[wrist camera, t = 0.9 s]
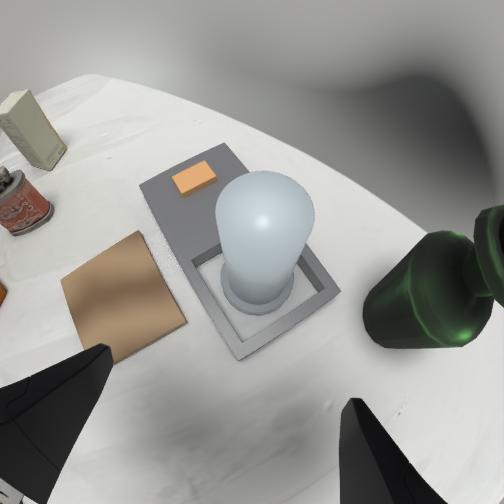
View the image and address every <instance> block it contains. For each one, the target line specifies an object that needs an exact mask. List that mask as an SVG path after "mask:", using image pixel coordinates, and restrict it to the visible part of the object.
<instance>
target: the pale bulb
mask: <svg viewBox="0 0 504 504" xmlns="http://www.w3.org/2000/svg"><path fill="white" fill-rule="evenodd" d="M215 214H216V221H217V227H218V232H219V237H220V242H221V247H222V252H223V257H224V264H223V267H222V271H221V283H222V287H223V291H224V293H225V296H226V298H227V299H228V301H229V302H230V303H231V304H232V305H233V306H234V307H235V308H236V309H238V310H239V311H241V312H243V313H246V314H249V315H264V314H268V313H271V312H273V311H275V310H276V309H278V308H279V307H280V306H281V305H282V304H283V303H284V302H285V300H286V299H287V297H288V295H289V294H290V292H291V289H292V286H293V280H294V278H293V269H294V267H295V265H296V263H297V261H298V259H299V257H300V254H301V252H302V250H303V248H304V246H305V244H306V242H307V240H308V237H309V235H310V233H311V231H312V228H313V225H314V221H315V211H314V206H313V203H312V200H311V198H310V196H309V195H308V193H307V192H306V190H305V189H304V188H303V187H302V186H301V185H300V184H299V183H297V182H296V181H295V180H293V179H291V178H290V177H288V176H285V175H283V174H280V173H276V172H270V171H256V172H250V173H247V174H244V175H242V176H239V177H237V178H236V179H234V180H233V181H231V182H230V183H229V184H228V185H227V186H226V187H225V188H224V189H223V190H222V192H221V194H220V195H219V198H218V200H217V204H216V210H215Z"/></svg>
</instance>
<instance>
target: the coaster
mask: <svg viewBox="0 0 504 504" xmlns="http://www.w3.org/2000/svg"><path fill="white" fill-rule="evenodd" d="M61 284H62V288H63V291H64V294H65V298H66V301H67V304H68V307H69V310H70V313H71V316H72V319H73V322H74V324H75V327H76V330H77V332H78V335H79V338H80V340H81V343H82V345H83V348H84V350H86V349H88V348H90V347H93V346H95V345H97V344H99V343H103V344H106V345H108V346H110V348H111V351H112V356H113V360H114V363H113V365H114V364H116V363H118V362H120V361H121V360H123V359H125V358H127V357H129V356H130V355H132V354H134V353H136V352H138V351H139V350H141V349H143V348H145V347H146V346H148V345H150V344H152V343H153V342H155V341H157V340H159V339H160V338H162V337H164V336H166V335H167V334H169V333H171V332H173V331H174V330H176V329H178V328H180V327H181V326H183V325H185V324H186V323H187V321H186V319H185V317H184V316H183V314H182V312H181V310H180V309H179V307H178V305H177V303H176V301H175V299H174V298H173V296H172V294H171V292H170V290H169V288H168V286H167V285H166V283H165V281H164V279H163V277H162V275H161V273H160V271H159V269H158V267H157V265H156V263H155V261H154V259H153V257H152V255H151V253H150V251H149V249H148V247H147V245H146V243H145V241H144V238H143V236H142V234H141V233H140V231H139V230H138V231H136V232H134V233H133V234H131V235H129V236H128V237H126V238H124V239H123V240H121V241H119V242H118V243H116V244H115V245H113V246H111V247H110V248H108V249H107V250H105V251H103V252H102V253H100V254H99V255H97V256H96V257H94V258H93V259H91V260H89V261H88V262H86V263H85V264H83V265H82V266H80V267H79V268H77V269H76V270H74V271H73V272H71V273H70V274H69V275H67V276H66V277H64V278H63V279H61Z"/></svg>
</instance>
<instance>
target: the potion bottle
mask: <svg viewBox="0 0 504 504" xmlns="http://www.w3.org/2000/svg"><path fill="white" fill-rule="evenodd" d="M473 237H474V243H475V244H474V243H473V242H472V241H471V240H469V239H468V238H467V237H466V236H464V235H462V234H459V233H456V232H452V231H438V232H433V233H428V234H426V235H425V236H424V237H423V238H422V239H421V240H420V241H419V242H418V243H417V244H416V245H415V246H414V248H413V249H412V250H411V251H410V252H409V253H408V254H407V255H406V256H405V257H404V258H403V259H402V260H401V261H400V262H399V263H398V264H397V265H396V266H395V267H394V268H393V269H392V270H391V271H390V272H389V273H388V274H387V275H386V276H385V277H384V278H383V279H382V280H381V281H380V282H379V283H378V284H377V285H376V286H375V287H374V288H373V289H372V290H371V291H370V292H369V294H368V296H367V298H366V300H365V302H364V312H363V318H364V322H365V326H366V330H367V332H368V333H369V334H370V336H371V337H372V339H373V340H374V341H375V342H376V343H378V344H380V345H381V346H383V347H385V348H395V349H421V348H452V347H463V346H464V345H466V344H468V343H469V342H471V341H473V340H474V339H476V338H477V336H478V335H479V334H480V333H481V331H482V330H483V328H484V327H485V325H486V323H487V322H488V320H489V318H490V316H491V313H492V308H493V303H494V299H495V300H496V301H497V302H498V303H499V304H500V305H501V306H502V307H503V308H504V205H500V206H495V207H492V208H489V209H485V210H482V211H481V212H480V214H479V215H478V217H477V218H476V220H475V228H474V236H473Z"/></svg>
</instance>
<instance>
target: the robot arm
mask: <svg viewBox="0 0 504 504" xmlns="http://www.w3.org/2000/svg"><path fill="white" fill-rule="evenodd" d="M113 363H114V360H113V356H112V351H111V348H110V346H108V345H106V344H103V343H99V344H97V345H95V346H93V347H90V348H88V349H86V350H84V351H82V352H80V353H78V354H76V355H74V356H72V357H70V358H67V359H65V360H63V361H61V362H59V363H57V364H55V365H53V366H51V367H48V368H46V369H44V370H42V371H40V372H38V373H36V374H33V375H31V376H30V377H27V378H25V379H23V380H20V381H18V382H16V383H13V384H10V385H8V386H5V387H2V388H0V504H23V502H22V499H23V497H24V495H25V496H26V497H28V498H30V499H31V500H33V501H34V502H36V503H38V504H47V501H48V499H49V497H50V495H51V492H52V490H53V488H54V486H55V484H56V481H57V479H58V477H59V475H60V473H61V470H62V468H63V466H64V464H65V462H66V460H67V458H68V456H69V454H70V452H71V450H72V448H73V446H74V444H75V442H76V440H77V438H78V436H79V434H80V433H81V431H82V429H83V427H84V425H85V423H86V421H87V419H88V417H89V416H90V414H91V412H92V410H93V408H94V406H95V405H96V403H97V401H98V399H99V397H100V395H101V393H102V391H103V388H104V386H105V383H106V381H107V379H108V376H109V374H110V372H111V369H112V367H113ZM339 469H340V504H448V503H447V502H445V501H444V500H443V499H442V498H441V497H440V496H439V495H438V494H437V493H436V492H435V491H434V490H433V489H432V488H431V487H430V486H429V484H428V483H427V482H426V481H425V480H424V479H423V478H422V477H421V476H420V474H419V473H418V472H417V471H416V469H415V468H414V467H413V465H412V464H411V463H409V460H408V459H407V458H406V456H405V455H404V454H403V452H402V451H401V450H400V448H399V447H398V446H397V444H396V443H395V442H394V440H393V439H392V438H391V437H390V435H389V434H388V433H387V431H386V430H385V429H384V427H383V426H382V425H381V423H380V422H379V421H378V419H377V418H376V417H375V415H374V414H373V413H372V411H371V410H370V409H369V407H368V406H367V405H366V403H365V402H364V401H363V400H362V399H361V398H350V399H349V401H348V402H347V404H346V405H345V407H344V408H343V410H342V413H341V424H340V439H339Z"/></svg>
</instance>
